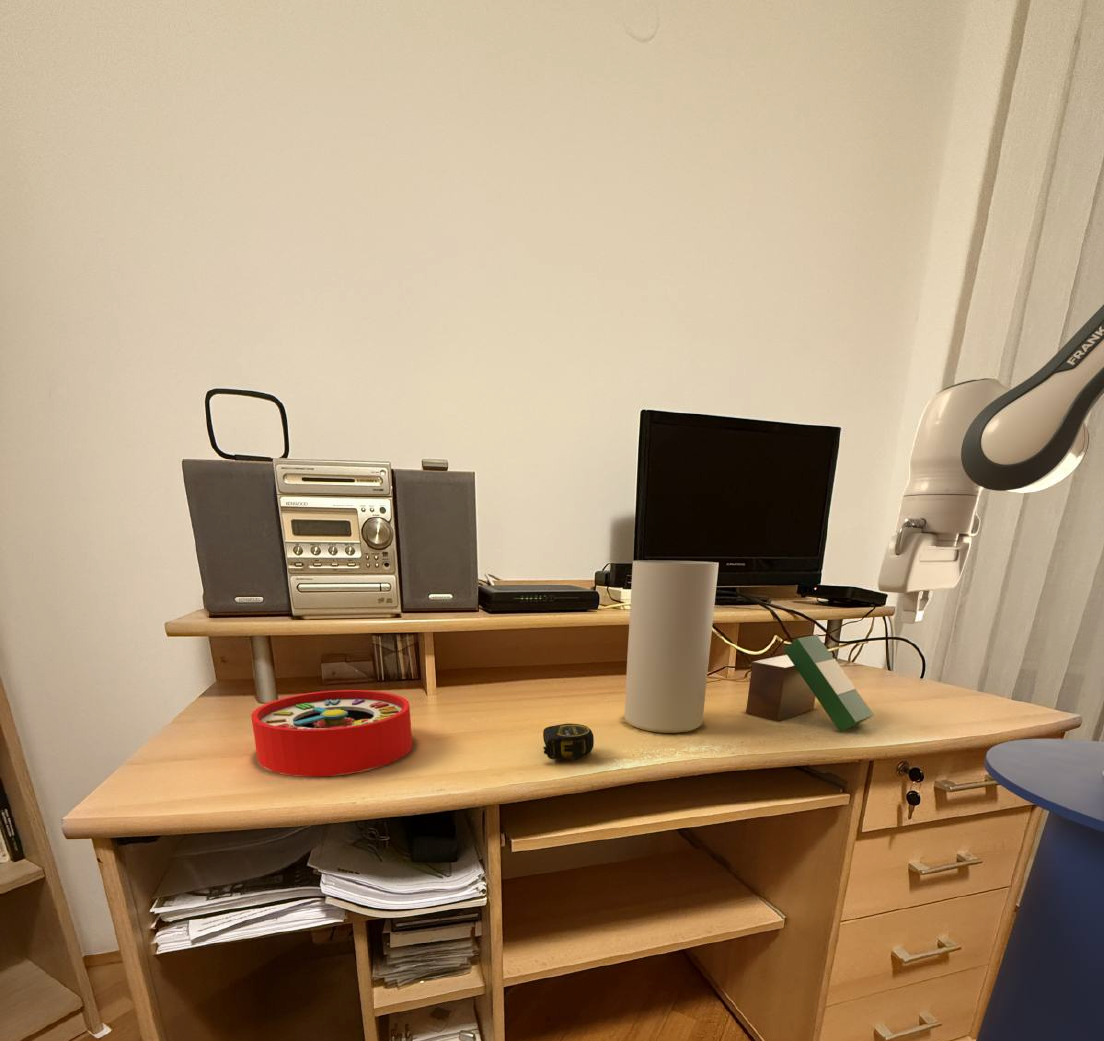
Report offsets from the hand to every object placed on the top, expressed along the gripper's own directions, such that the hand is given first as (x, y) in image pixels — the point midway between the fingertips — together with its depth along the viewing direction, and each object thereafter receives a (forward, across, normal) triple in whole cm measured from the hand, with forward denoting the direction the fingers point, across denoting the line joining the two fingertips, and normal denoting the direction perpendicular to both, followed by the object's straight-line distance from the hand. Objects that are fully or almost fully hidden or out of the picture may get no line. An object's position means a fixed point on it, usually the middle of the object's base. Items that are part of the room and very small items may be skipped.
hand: (910, 622), depth 83 cm
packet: (+11, 0, +10) cm, 15 cm away
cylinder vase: (+18, -22, +26) cm, 38 cm away
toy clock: (+18, -68, +44) cm, 83 cm away
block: (+18, 0, +18) cm, 25 cm away
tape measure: (+18, -45, +24) cm, 54 cm away
